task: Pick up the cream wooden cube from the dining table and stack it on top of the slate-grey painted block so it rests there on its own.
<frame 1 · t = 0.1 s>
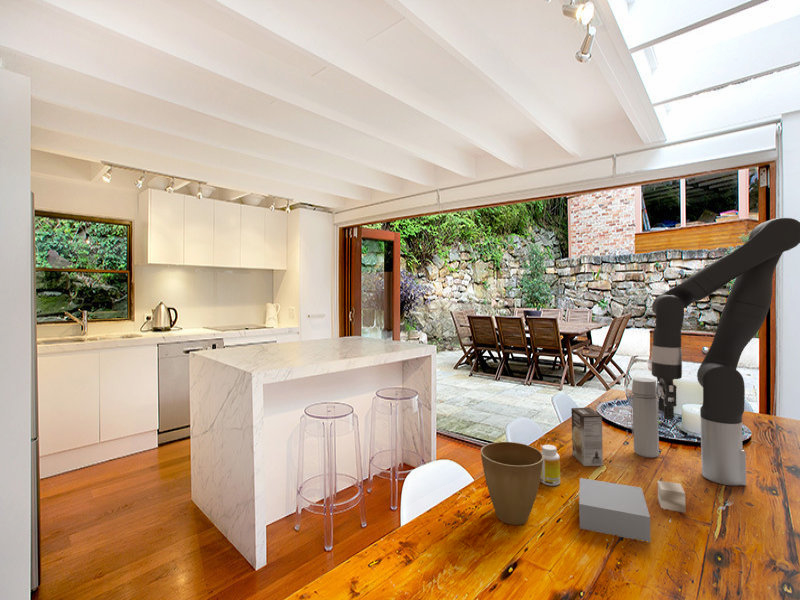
hand: (665, 414, 117), 17 cm above the table, tool pointing down, fingers open, 8 cm apart
cream cube: (671, 506, 99), on the table
supplement bottle: (550, 482, 113), on the table
coffee box: (587, 460, 127), on the table
slate block: (612, 520, 94), on the table
water bottle: (643, 454, 130), on the table
plant pot: (513, 517, 96), on the table
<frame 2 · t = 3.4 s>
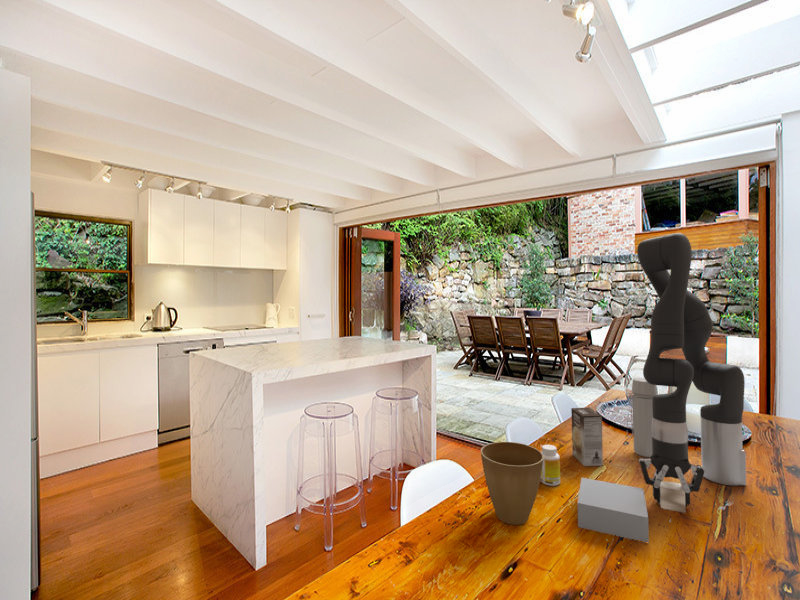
hand: (671, 502, 99), 1 cm above the table, tool pointing down, fingers closed on cream cube, 5 cm apart
cream cube: (671, 505, 99), on the table, touching gripper
everything else where it was.
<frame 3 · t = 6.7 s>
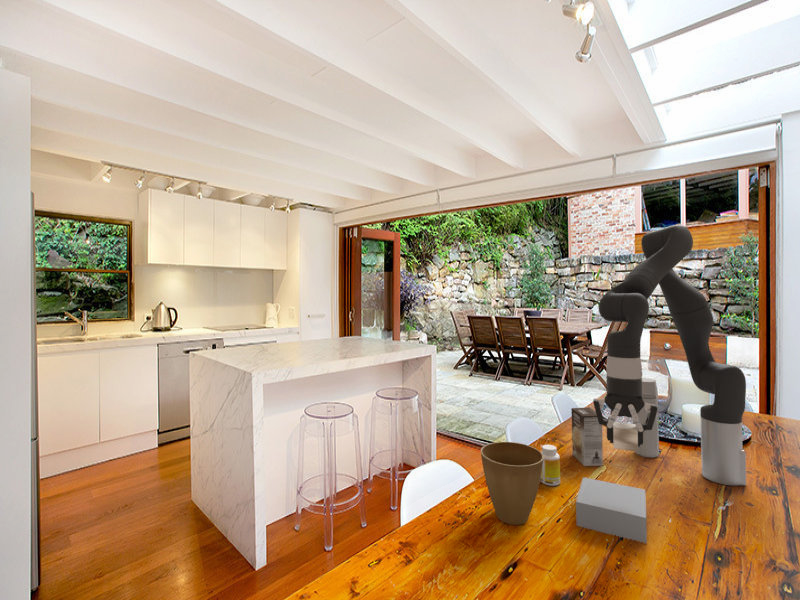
hand: (624, 443, 95), 18 cm above the table, tool pointing down, fingers closed on cream cube, 5 cm apart
cream cube: (624, 446, 95), point 17 cm above the table, touching gripper
everything else where it was.
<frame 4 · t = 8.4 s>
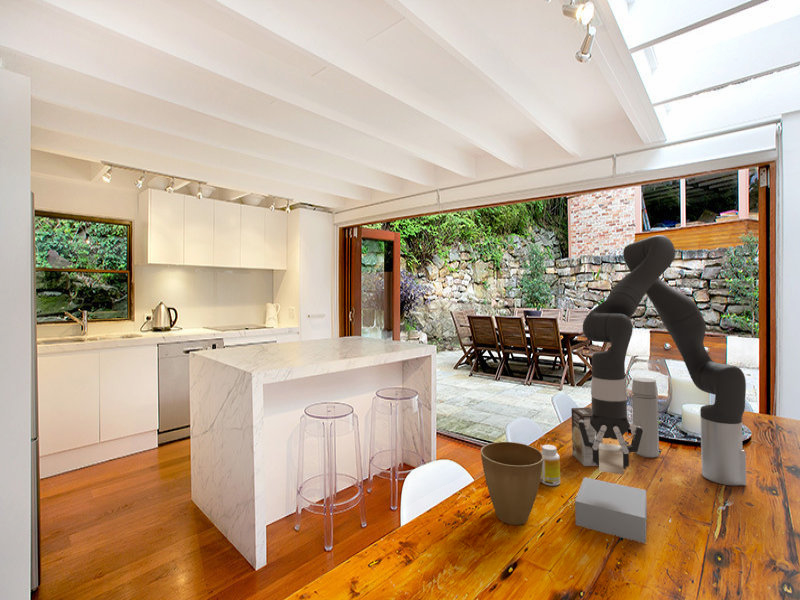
hand: (610, 465, 94), 13 cm above the table, tool pointing down, fingers closed on cream cube, 5 cm apart
cream cube: (610, 468, 94), point 12 cm above the table, touching gripper
everything else where it was.
when the fingers open (8 cm above the table, at t = 10.0 s): cream cube drops 1 cm, resting on slate block.
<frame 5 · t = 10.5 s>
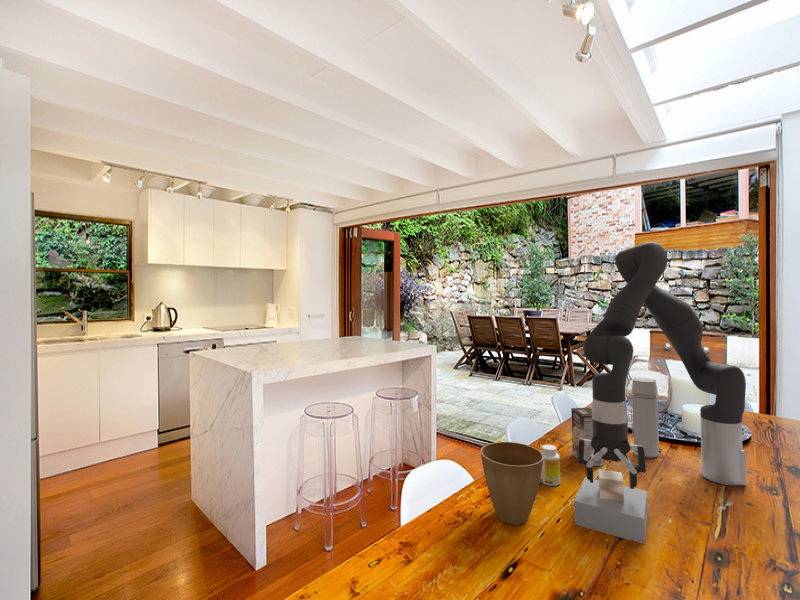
hand: (611, 484, 94), 8 cm above the table, tool pointing down, fingers open, 8 cm apart
cream cube: (611, 495, 94), point 6 cm above the table, touching slate block
slate block: (612, 520, 94), on the table, touching cream cube
everything else where it was.
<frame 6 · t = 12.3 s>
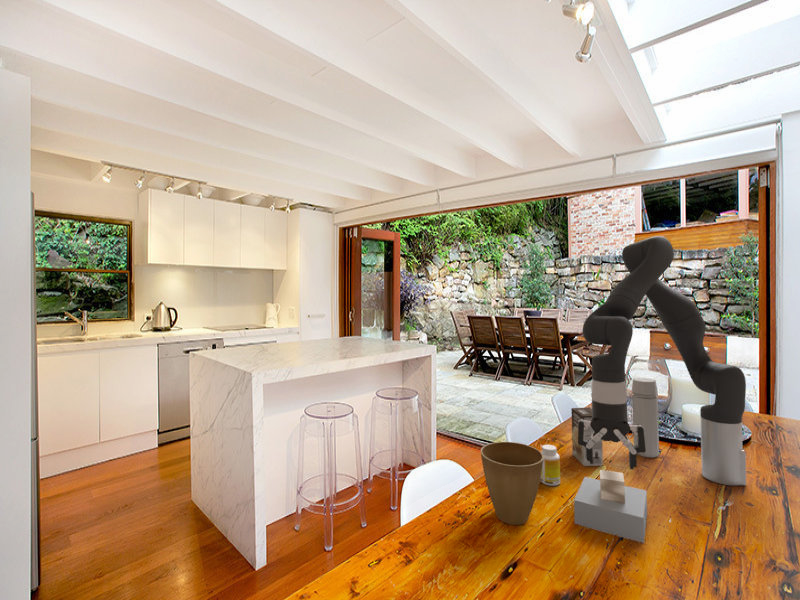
hand: (610, 465, 94), 13 cm above the table, tool pointing down, fingers open, 8 cm apart
cream cube: (612, 496, 93), point 6 cm above the table
slate block: (611, 519, 94), on the table
everything else where it was.
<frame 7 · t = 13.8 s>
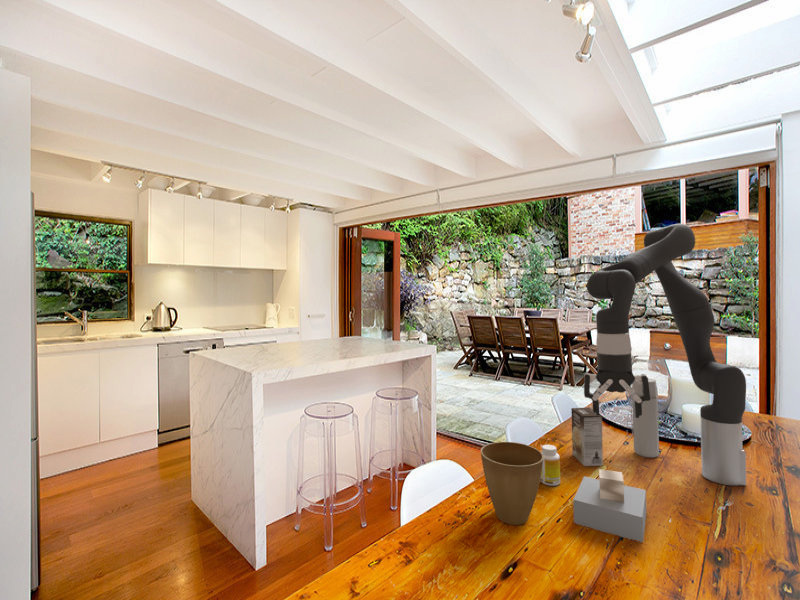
hand: (616, 415, 96), 24 cm above the table, tool pointing down, fingers open, 8 cm apart
cream cube: (611, 495, 94), point 6 cm above the table, touching slate block
slate block: (610, 519, 94), on the table, touching cream cube
everything else where it was.
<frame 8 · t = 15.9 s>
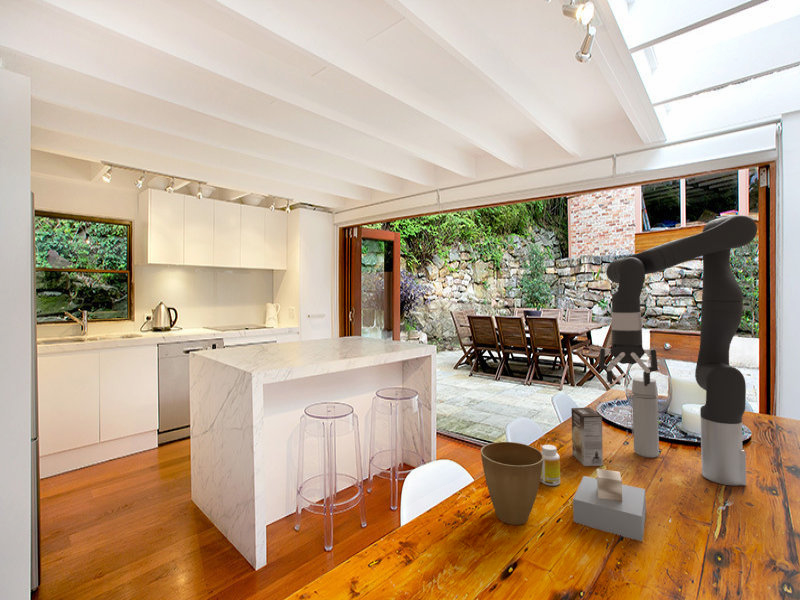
hand: (627, 384, 111), 28 cm above the table, tool pointing down, fingers open, 8 cm apart
nothing on the table moved.
at the end: cream cube inside the target area on the slate block (0.7 cm from its centre), point 6.0 cm above the slate block's base; cream cube tilted 0°; the gripper is holding nothing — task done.
